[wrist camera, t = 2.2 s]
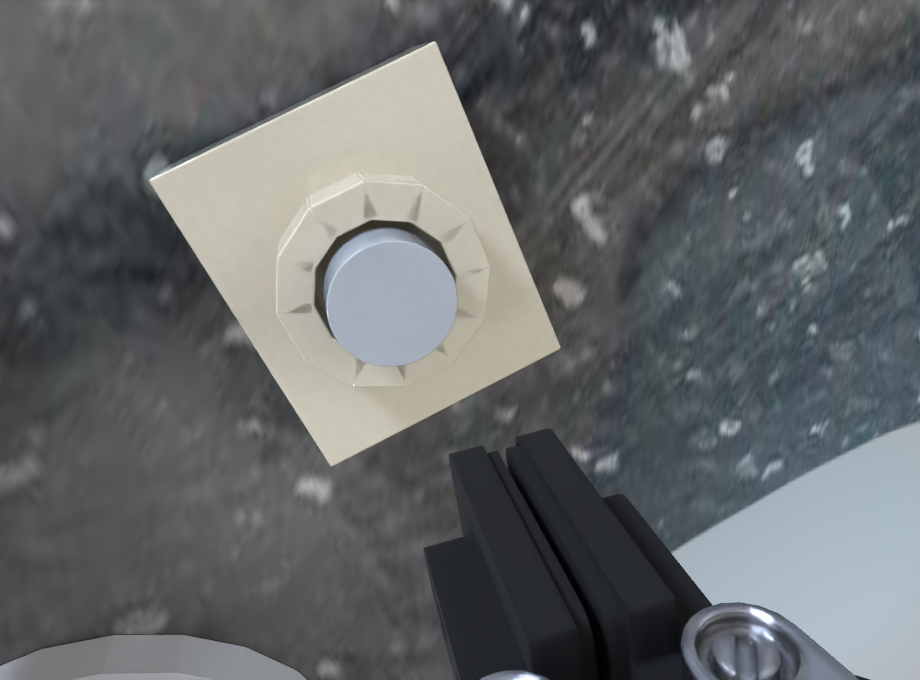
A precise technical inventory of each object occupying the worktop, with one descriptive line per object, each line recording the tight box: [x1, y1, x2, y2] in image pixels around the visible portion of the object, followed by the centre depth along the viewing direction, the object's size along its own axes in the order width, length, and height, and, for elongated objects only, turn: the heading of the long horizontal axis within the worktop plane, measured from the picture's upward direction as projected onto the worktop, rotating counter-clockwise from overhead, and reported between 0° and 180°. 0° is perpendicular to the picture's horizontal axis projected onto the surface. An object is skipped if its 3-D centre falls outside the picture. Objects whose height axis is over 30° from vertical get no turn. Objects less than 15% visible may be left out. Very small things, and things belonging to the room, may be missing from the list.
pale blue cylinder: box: [323, 227, 458, 367], centre depth 22 cm, size 4×4×2 cm
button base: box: [149, 42, 560, 466], centre depth 24 cm, size 12×10×5 cm
